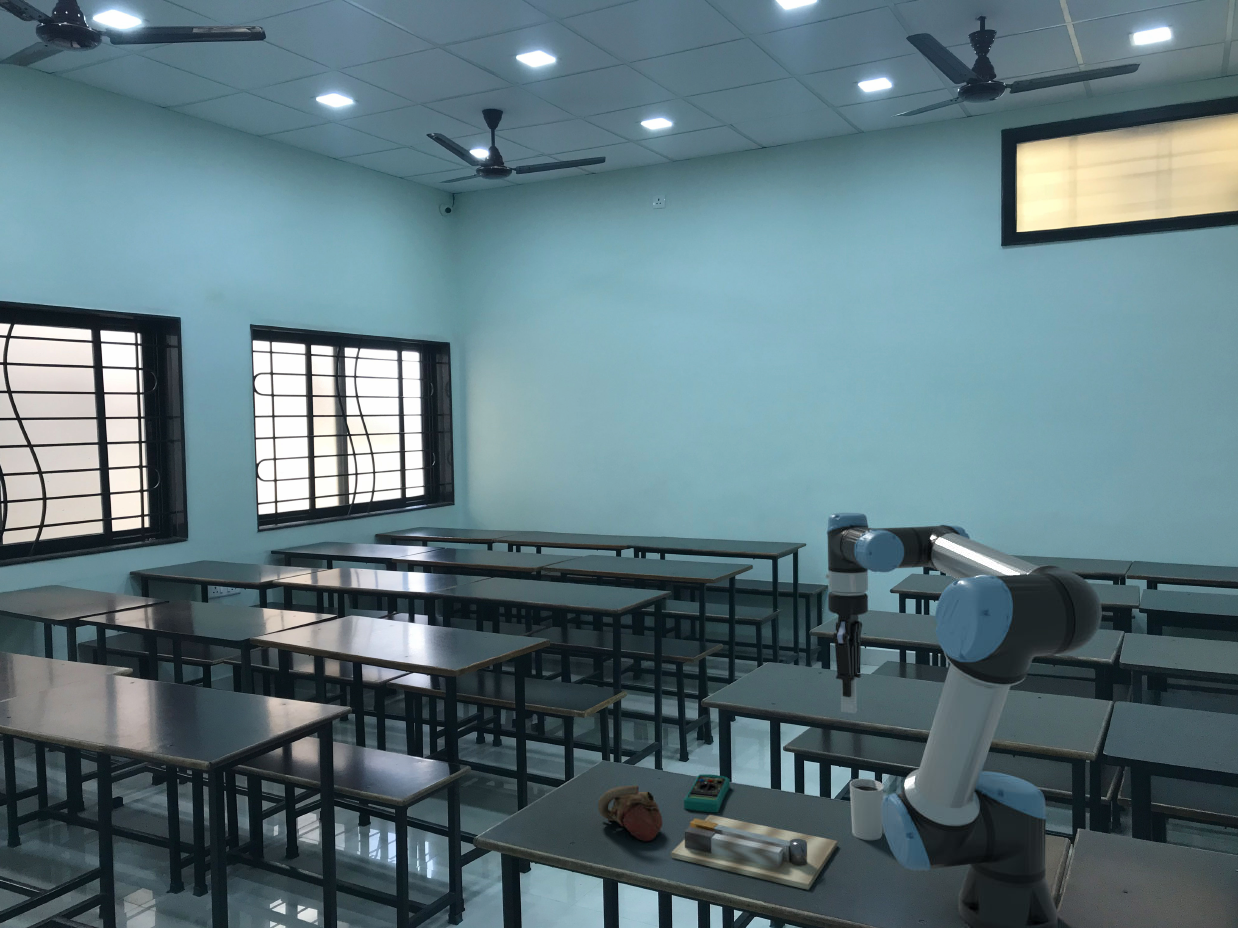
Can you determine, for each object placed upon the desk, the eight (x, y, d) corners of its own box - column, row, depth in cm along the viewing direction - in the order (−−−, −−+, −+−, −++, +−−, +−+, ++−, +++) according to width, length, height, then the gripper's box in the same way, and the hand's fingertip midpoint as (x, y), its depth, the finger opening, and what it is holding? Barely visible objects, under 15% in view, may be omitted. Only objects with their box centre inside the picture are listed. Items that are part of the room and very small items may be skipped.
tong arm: (809, 859, 168) (809, 840, 168) (803, 866, 165) (803, 847, 165) (696, 832, 180) (696, 814, 180) (689, 838, 177) (688, 820, 177)
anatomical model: (655, 857, 181) (602, 821, 191) (680, 821, 185) (627, 788, 195) (636, 827, 173) (581, 791, 183) (662, 790, 177) (607, 756, 187)
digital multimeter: (730, 787, 207) (730, 774, 207) (717, 815, 192) (717, 801, 192) (698, 784, 209) (697, 771, 209) (683, 811, 194) (683, 797, 194)
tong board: (837, 845, 176) (836, 824, 176) (808, 889, 159) (808, 866, 159) (709, 819, 189) (709, 799, 189) (671, 857, 172) (670, 835, 172)
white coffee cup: (855, 841, 178) (855, 791, 177) (845, 826, 184) (845, 778, 184) (888, 840, 178) (888, 790, 178) (878, 825, 185) (877, 777, 184)
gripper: (837, 585, 183) (838, 700, 183) (819, 596, 171) (820, 718, 172) (875, 588, 179) (875, 704, 180) (858, 599, 168) (859, 723, 168)
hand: (848, 711), depth 176 cm, fingers closed
